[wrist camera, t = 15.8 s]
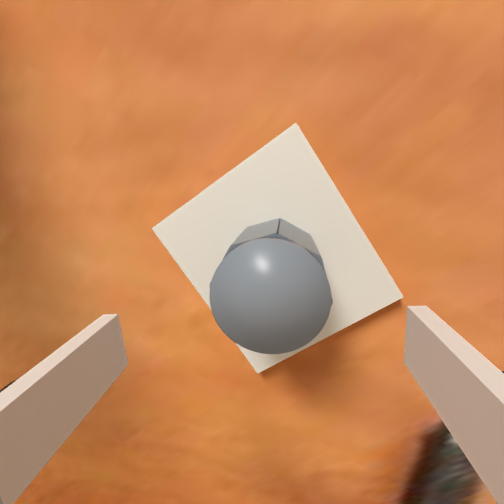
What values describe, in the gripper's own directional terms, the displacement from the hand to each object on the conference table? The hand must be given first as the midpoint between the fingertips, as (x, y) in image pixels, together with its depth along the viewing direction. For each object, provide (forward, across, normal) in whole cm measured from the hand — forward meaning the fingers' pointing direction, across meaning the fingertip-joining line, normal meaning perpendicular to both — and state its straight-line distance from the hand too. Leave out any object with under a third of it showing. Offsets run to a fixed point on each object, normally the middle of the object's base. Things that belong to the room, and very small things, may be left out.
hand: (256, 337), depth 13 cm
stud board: (+15, 0, 0) cm, 15 cm away
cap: (+14, 0, 0) cm, 14 cm away
